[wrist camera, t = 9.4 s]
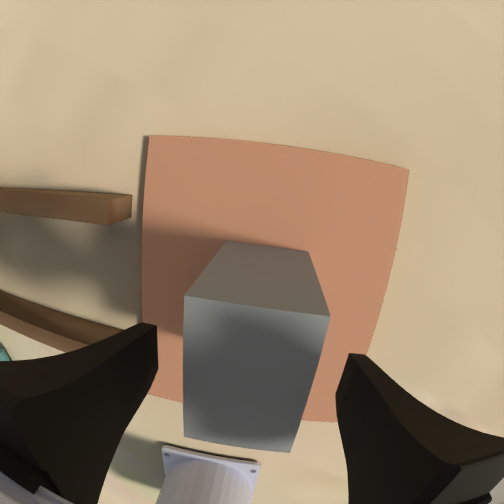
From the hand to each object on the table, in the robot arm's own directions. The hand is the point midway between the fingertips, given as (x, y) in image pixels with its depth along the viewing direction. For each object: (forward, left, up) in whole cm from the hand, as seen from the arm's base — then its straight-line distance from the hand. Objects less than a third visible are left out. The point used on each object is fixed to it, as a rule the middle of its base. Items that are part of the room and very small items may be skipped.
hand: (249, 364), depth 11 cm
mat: (0, 0, -6) cm, 6 cm away
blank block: (0, 0, -5) cm, 5 cm away
